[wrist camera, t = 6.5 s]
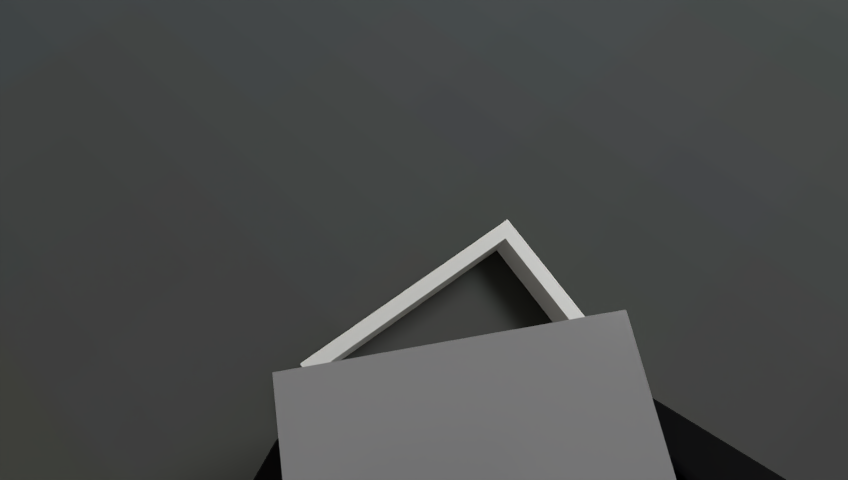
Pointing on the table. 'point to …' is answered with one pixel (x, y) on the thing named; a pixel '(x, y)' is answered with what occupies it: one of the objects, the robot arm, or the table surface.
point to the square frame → (497, 239)
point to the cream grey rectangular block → (479, 410)
